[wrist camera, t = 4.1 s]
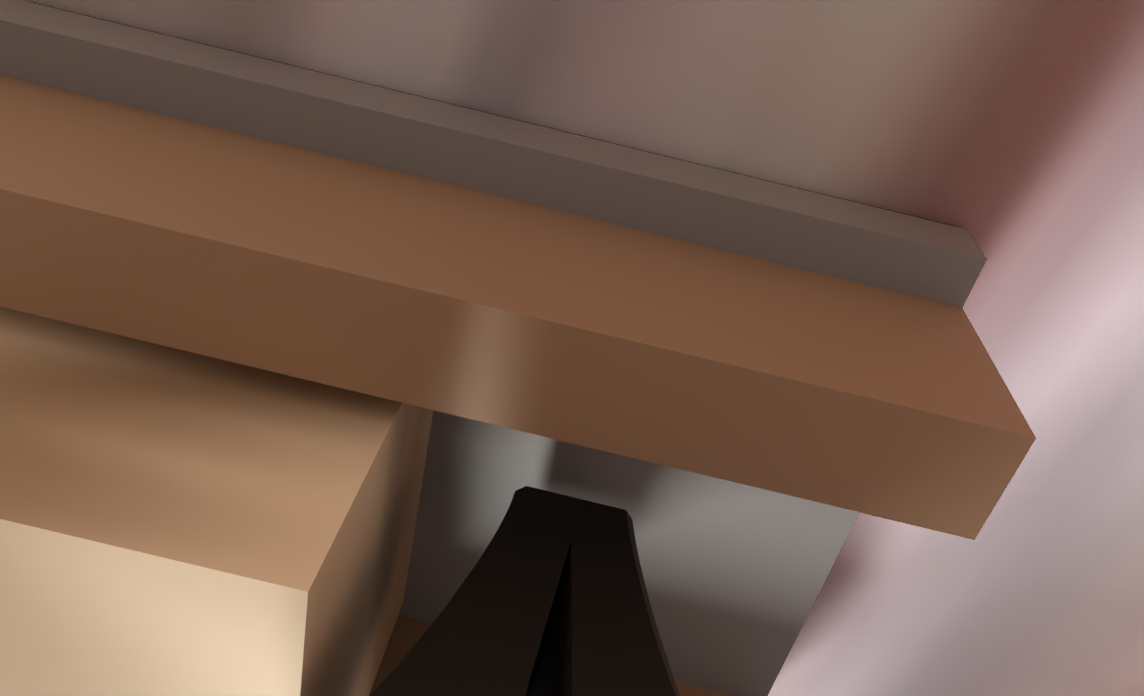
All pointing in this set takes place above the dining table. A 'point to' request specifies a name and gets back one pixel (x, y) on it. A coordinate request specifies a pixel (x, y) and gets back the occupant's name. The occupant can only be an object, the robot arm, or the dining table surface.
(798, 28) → the dining table surface
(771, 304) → the chute
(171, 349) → the birch block
